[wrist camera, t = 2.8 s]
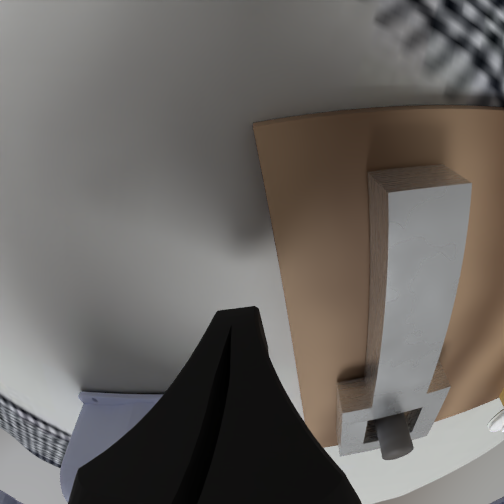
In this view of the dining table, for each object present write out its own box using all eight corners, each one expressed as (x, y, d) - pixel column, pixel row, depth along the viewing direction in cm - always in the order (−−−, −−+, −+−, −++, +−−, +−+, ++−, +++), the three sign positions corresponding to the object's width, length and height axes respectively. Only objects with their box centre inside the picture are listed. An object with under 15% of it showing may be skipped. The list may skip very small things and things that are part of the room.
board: (307, 438, 21) (312, 495, 17) (253, 122, 11) (248, 156, 6) (521, 377, 19) (542, 418, 15) (596, 120, 8) (655, 149, 4)
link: (419, 412, 18) (426, 435, 16) (336, 431, 19) (339, 456, 17) (473, 161, 10) (504, 179, 8) (324, 177, 10) (337, 199, 9)
